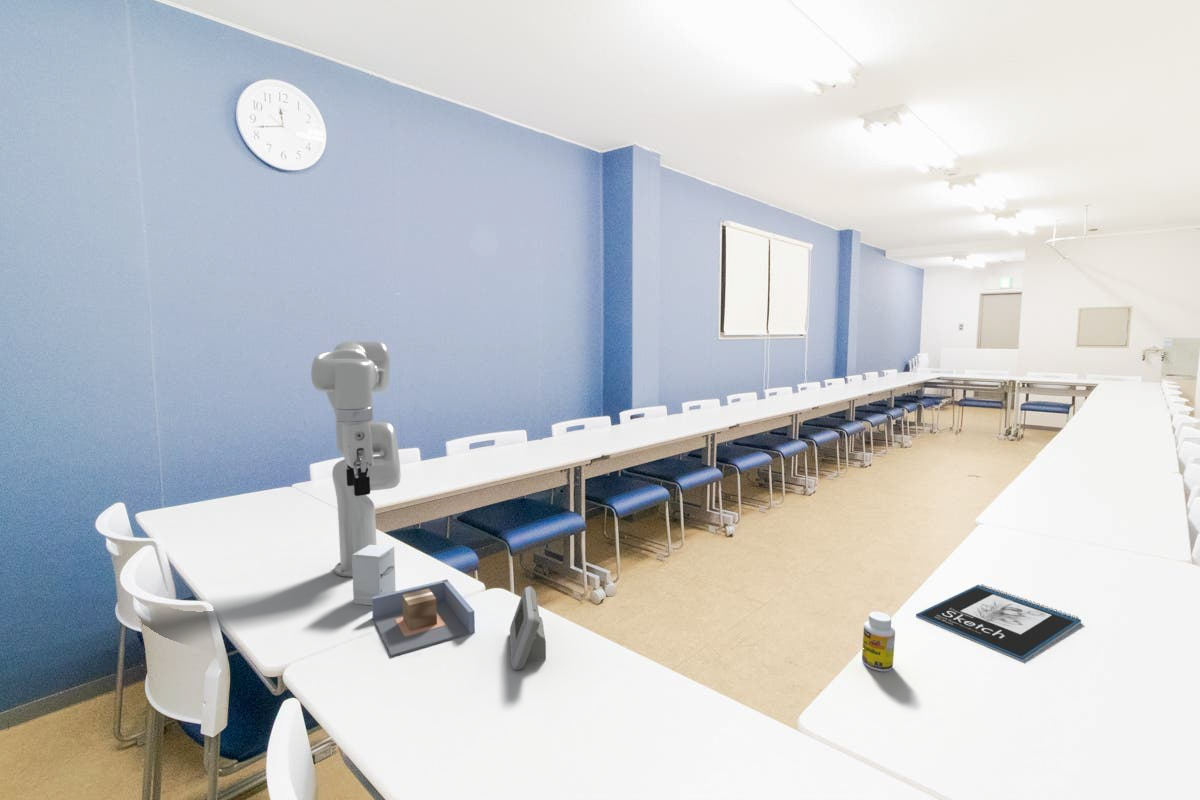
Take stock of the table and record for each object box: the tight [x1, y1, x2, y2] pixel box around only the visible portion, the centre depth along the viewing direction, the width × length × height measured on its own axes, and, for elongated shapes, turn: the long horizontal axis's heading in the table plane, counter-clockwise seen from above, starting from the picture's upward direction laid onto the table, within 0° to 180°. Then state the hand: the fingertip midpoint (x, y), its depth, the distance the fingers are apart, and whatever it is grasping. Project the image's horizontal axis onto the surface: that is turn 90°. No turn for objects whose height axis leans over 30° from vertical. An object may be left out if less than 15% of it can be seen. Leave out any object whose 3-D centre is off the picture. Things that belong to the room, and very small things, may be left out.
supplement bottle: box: [861, 611, 896, 672], centre depth 110 cm, size 6×6×10 cm
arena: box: [371, 579, 476, 658], centre depth 126 cm, size 19×18×5 cm
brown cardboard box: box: [402, 589, 437, 631], centre depth 126 cm, size 6×6×6 cm
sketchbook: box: [915, 583, 1082, 663], centre depth 129 cm, size 22×30×2 cm
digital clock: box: [509, 585, 547, 671], centre depth 116 cm, size 16×9×11 cm, turn 179°
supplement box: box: [352, 544, 397, 606], centre depth 138 cm, size 7×7×13 cm
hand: (358, 489), depth 127 cm, fingers open, 9 cm apart
